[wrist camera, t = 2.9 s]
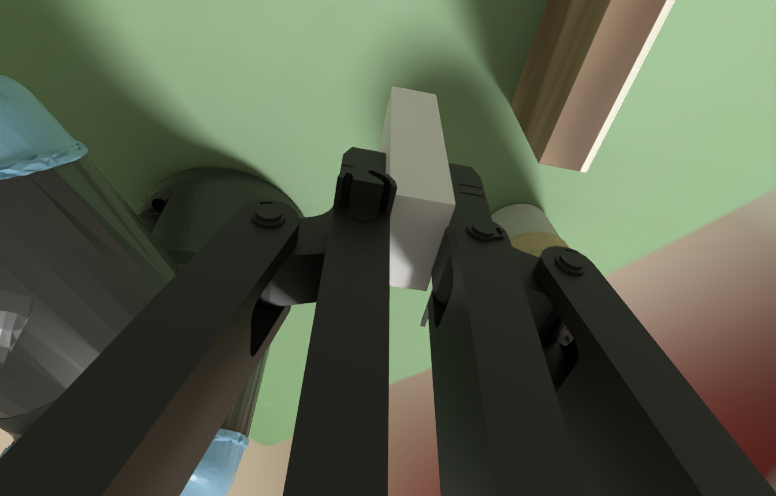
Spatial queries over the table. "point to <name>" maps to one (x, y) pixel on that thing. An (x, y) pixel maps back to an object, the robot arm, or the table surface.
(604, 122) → the wooden block
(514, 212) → the coffee cup
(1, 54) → the table surface
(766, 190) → the table surface
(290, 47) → the table surface
